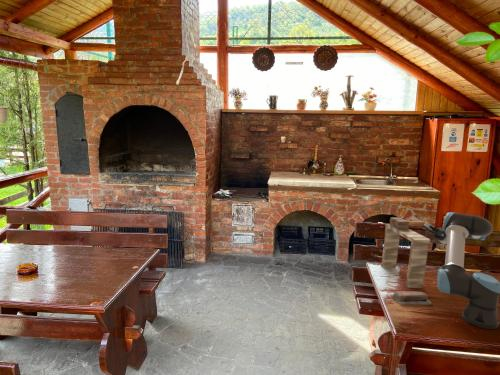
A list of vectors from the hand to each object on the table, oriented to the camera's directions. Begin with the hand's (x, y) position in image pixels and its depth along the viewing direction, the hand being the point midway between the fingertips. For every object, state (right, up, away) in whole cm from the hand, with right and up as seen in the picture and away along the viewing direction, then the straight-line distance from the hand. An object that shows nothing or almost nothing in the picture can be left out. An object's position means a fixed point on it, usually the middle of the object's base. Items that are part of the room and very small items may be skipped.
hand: (418, 220), depth 225 cm
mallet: (-6, -4, 0) cm, 8 cm away
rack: (-13, -35, -4) cm, 38 cm away
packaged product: (-21, -41, -34) cm, 58 cm away
